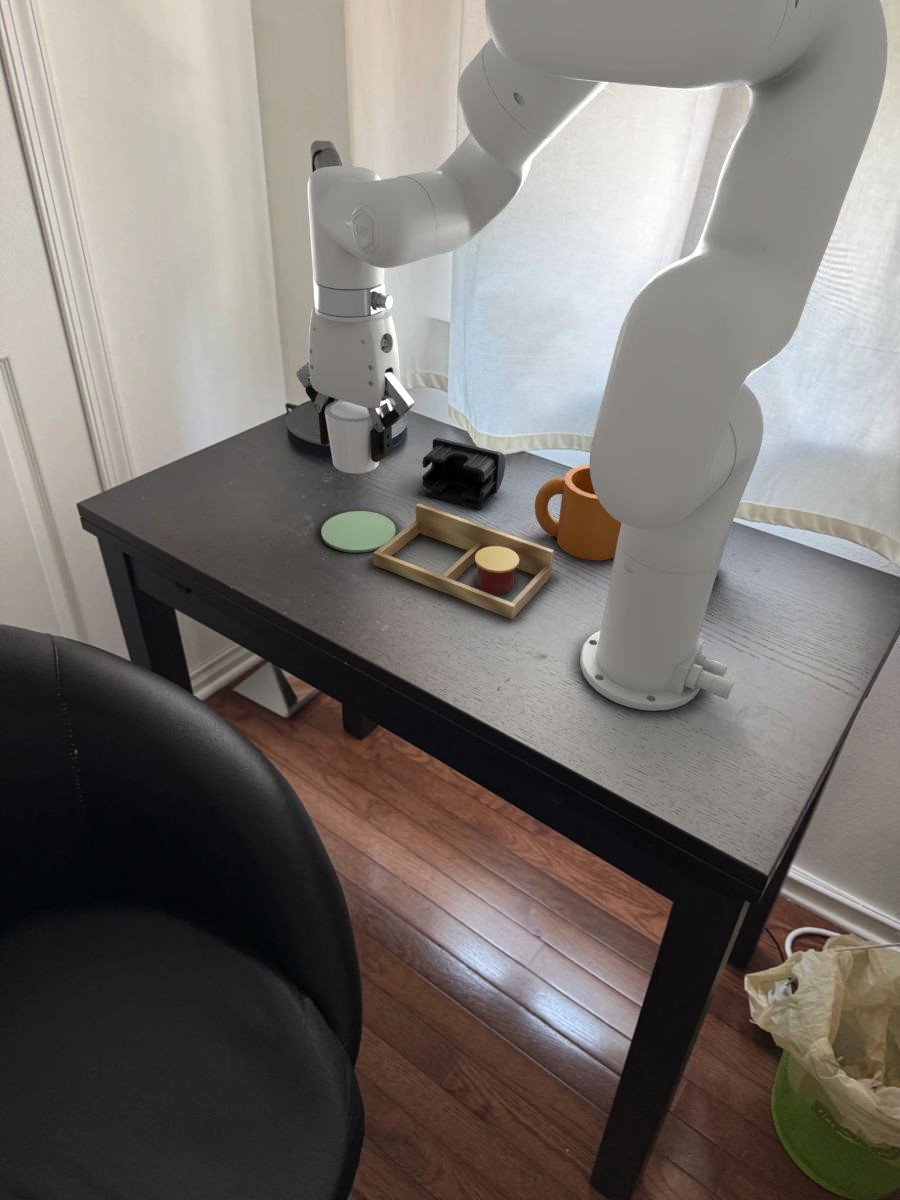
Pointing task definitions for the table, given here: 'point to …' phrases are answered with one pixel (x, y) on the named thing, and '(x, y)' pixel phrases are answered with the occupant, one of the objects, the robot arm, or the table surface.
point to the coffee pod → (496, 569)
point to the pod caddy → (466, 558)
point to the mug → (578, 517)
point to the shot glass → (350, 436)
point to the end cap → (462, 473)
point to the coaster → (358, 531)
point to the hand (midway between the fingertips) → (355, 448)
